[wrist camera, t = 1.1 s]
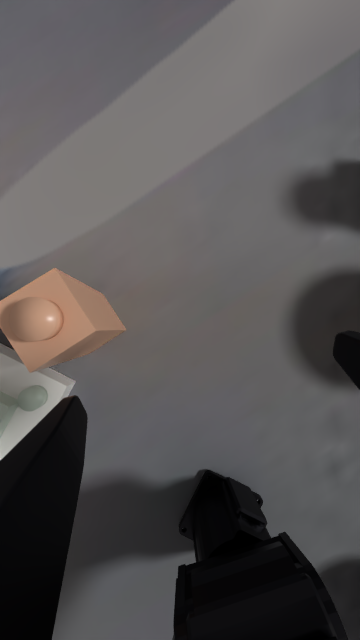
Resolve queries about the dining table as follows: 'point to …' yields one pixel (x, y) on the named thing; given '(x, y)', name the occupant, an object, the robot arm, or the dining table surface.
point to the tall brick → (57, 320)
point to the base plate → (25, 397)
